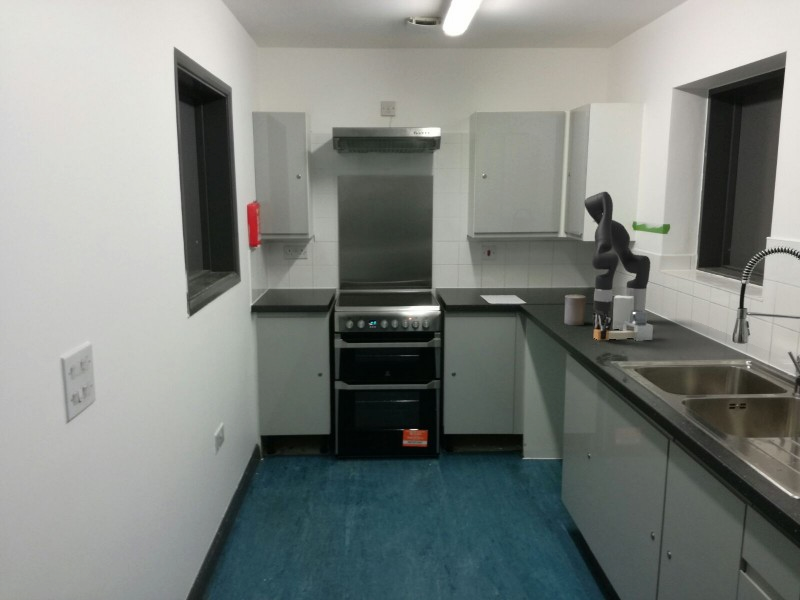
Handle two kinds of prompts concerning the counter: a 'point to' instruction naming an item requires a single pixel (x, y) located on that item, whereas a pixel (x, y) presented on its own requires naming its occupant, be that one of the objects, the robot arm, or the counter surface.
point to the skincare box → (622, 310)
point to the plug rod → (613, 334)
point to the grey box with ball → (638, 325)
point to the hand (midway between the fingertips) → (600, 337)
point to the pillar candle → (575, 309)
